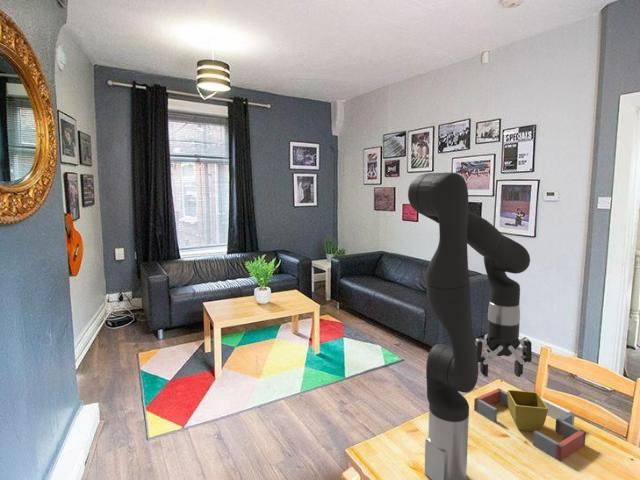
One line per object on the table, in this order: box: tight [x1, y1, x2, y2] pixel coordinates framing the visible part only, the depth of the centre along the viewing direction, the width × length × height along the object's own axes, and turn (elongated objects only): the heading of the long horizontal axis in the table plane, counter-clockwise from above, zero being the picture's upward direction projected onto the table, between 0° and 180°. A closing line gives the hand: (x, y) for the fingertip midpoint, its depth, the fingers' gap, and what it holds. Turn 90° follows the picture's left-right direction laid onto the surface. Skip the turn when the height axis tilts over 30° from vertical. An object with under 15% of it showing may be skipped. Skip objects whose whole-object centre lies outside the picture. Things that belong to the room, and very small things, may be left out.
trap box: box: [473, 388, 587, 462], centre depth 111 cm, size 26×19×4 cm
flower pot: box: [506, 389, 548, 432], centre depth 109 cm, size 9×9×9 cm
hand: (501, 375), depth 98 cm, fingers open, 8 cm apart
